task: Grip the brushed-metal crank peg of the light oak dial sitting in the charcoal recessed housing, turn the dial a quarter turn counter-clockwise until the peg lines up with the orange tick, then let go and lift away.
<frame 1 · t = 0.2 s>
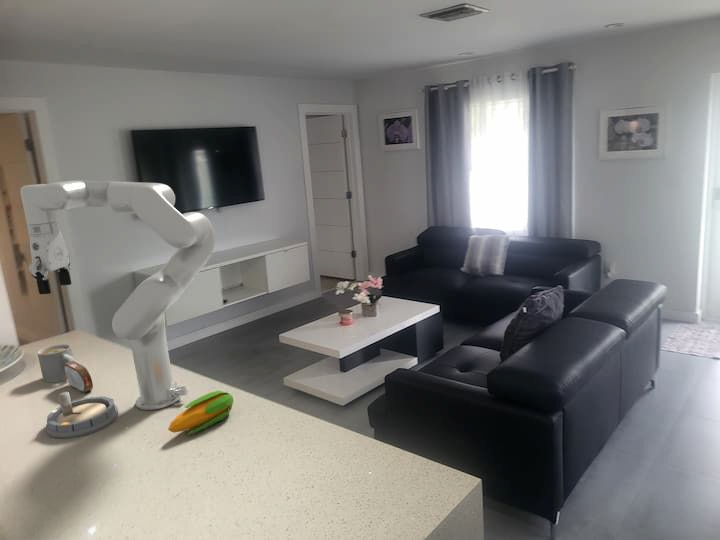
hand: (56, 289, 156), 36 cm above the counter, tool pointing down, fingers open, 9 cm apart
dial housing: (83, 421, 153), on the counter
dial: (80, 404, 152), point 5 cm above the counter, hinge at 0.0°
corn: (204, 426, 146), on the counter
coffee mug: (62, 378, 187), on the counter
tin: (80, 389, 177), on the counter
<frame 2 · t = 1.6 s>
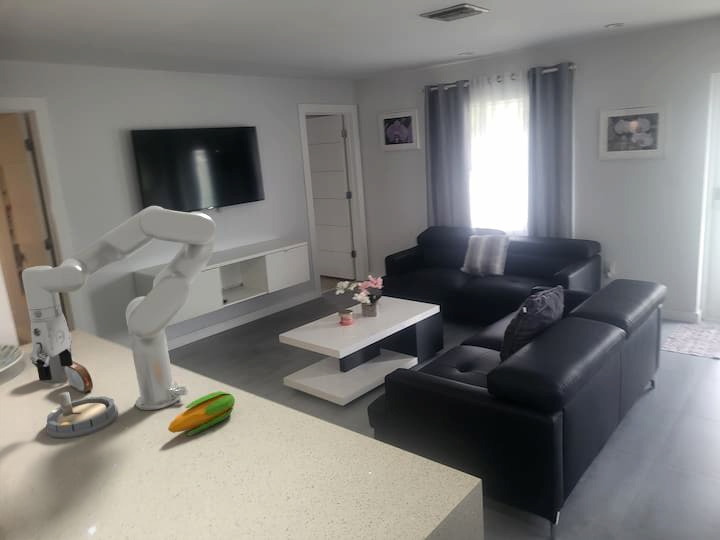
hand: (56, 372, 150), 15 cm above the counter, tool pointing down, fingers open, 9 cm apart
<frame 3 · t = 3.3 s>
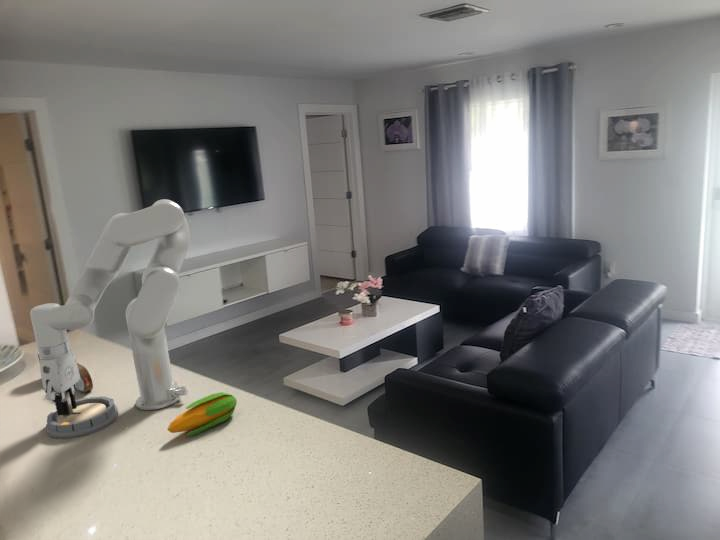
hand: (67, 411, 153), 3 cm above the counter, tool pointing down, fingers closed on dial, 2 cm apart
dial: (80, 404, 152), point 5 cm above the counter, hinge at 0.0°, touching gripper
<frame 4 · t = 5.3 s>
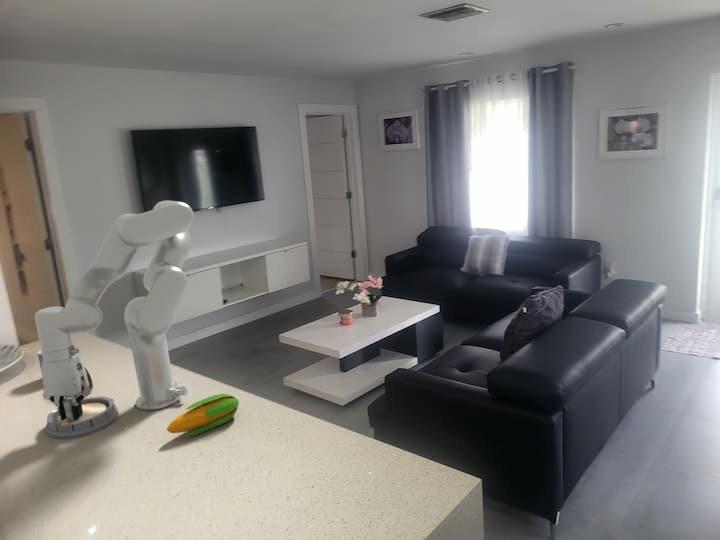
hand: (72, 417, 149), 4 cm above the counter, tool pointing down, fingers closed on dial, 2 cm apart
dial: (80, 404, 152), point 5 cm above the counter, hinge at 84.5°, touching gripper
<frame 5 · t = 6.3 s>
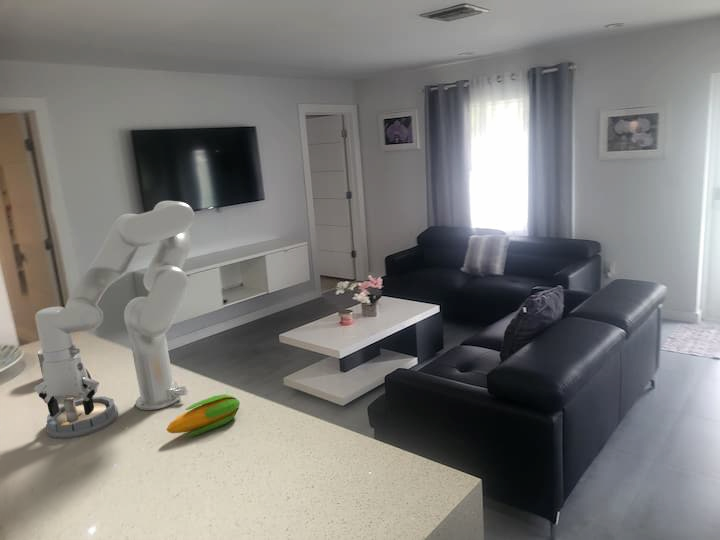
hand: (72, 413, 148), 5 cm above the counter, tool pointing down, fingers open, 9 cm apart
dial: (80, 404, 152), point 5 cm above the counter, hinge at 86.1°
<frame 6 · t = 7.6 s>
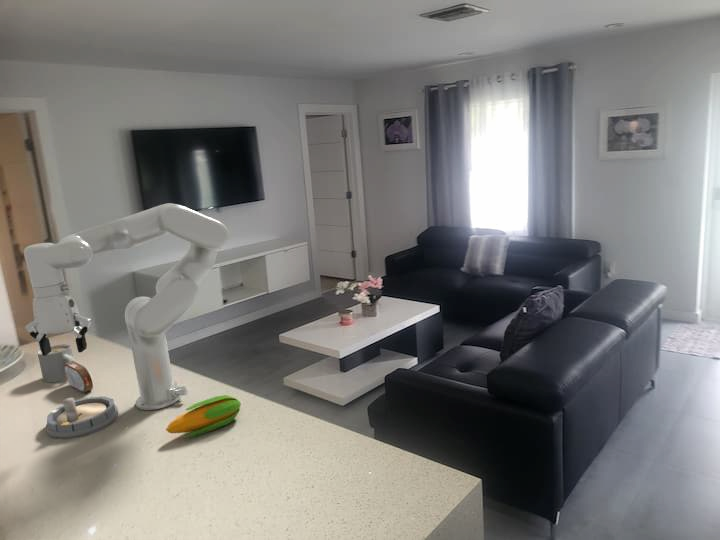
hand: (64, 352, 147), 21 cm above the counter, tool pointing down, fingers open, 9 cm apart
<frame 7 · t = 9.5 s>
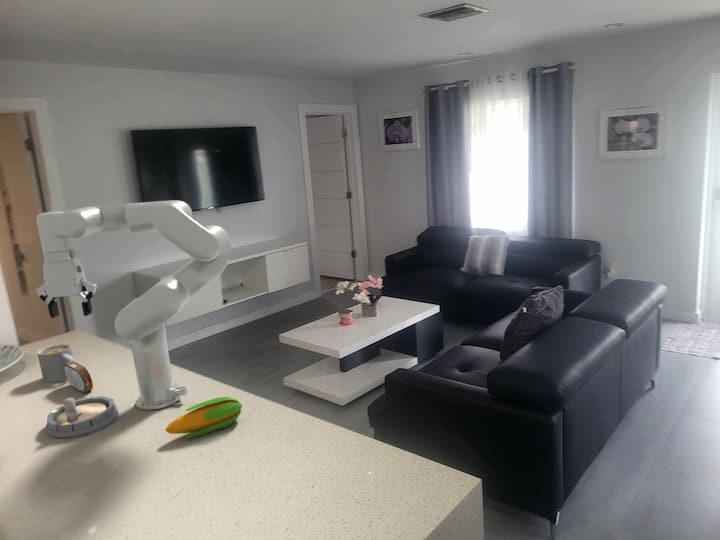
hand: (71, 315, 156), 28 cm above the counter, tool pointing down, fingers open, 9 cm apart
at the end: dial at +86° (first picture: +0°); the gripper is holding nothing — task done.
